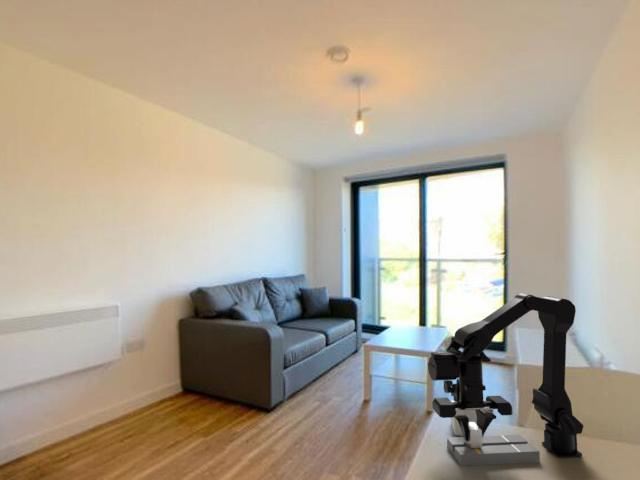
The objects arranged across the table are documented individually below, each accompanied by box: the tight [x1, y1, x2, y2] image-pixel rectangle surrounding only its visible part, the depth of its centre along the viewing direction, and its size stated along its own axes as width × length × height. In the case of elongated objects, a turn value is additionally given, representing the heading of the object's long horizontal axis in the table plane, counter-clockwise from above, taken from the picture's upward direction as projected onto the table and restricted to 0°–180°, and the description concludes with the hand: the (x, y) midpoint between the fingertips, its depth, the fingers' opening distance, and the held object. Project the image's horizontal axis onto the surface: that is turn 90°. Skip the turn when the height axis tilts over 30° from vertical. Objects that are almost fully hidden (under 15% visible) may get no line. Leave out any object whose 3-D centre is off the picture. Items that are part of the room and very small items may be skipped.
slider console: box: [446, 434, 541, 467], centre depth 91 cm, size 20×8×3 cm, turn 93°
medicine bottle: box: [450, 396, 477, 437], centre depth 103 cm, size 7×7×12 cm
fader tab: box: [462, 422, 482, 448], centre depth 91 cm, size 3×4×6 cm
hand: (472, 440), depth 91 cm, fingers closed on fader tab, 3 cm apart
